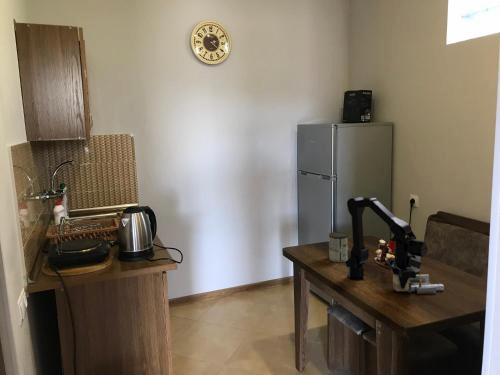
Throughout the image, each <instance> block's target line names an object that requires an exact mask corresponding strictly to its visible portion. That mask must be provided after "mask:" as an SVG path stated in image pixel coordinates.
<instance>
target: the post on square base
mask: <svg viewBox="0 0 500 375" xmlns="http://www.w3.org/2000/svg"><path fill="white" fill-rule="evenodd" d="M430 286H435V287H436V291H444V290H445V286H444V284H443V283H431V284H425V285H422V280H419V285H411V282H410V281H409V289H408V291H406V292H407V293H409V294H411V293H412V292H416V287H430Z"/></svg>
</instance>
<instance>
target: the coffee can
mask: <svg viewBox="0 0 500 375" xmlns="http://www.w3.org/2000/svg"><path fill="white" fill-rule="evenodd" d="M348 237H349V233H347V232H345V231H344V232H343V231H333V232H329V233H328V248H329V249H328V256H329V257H328V259H329V260H330V261H331V262H335V263H343V262H346V261H347V260H348V259H349V257H348V256H349V254H348V253H349V251H348V250H349V246H348V245H349V244H348V243H349V238H348Z"/></svg>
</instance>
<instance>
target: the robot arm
mask: <svg viewBox="0 0 500 375" xmlns="http://www.w3.org/2000/svg"><path fill="white" fill-rule="evenodd" d="M346 206H347V211H348V213H349V214H350V216H351V229H352V230H351V231H352V248H351V249H350V256H349V258H348V260H347V261H344V262H345V265H346V267H347V268H348V270H347V272H348V274H347V277H348V279H350V280H351V281H354V280H364V276H365V269H364V267H363V266H364V265H365V264H366V262H367V261H368V259H369V257H370V254H369V252H370V251H369V248H367V247H366V246H365V244H364V242H365V241H364V226H363V214H364V212H365V208H370V209H371V211H373V212H374V213H375V214H376V215H377V216H378V217H379V218H380V219H381V220H382V221H383V222H384V223H385V224H387V226H388V228H389V231H390V232H391V234H393V237H391V238H390V240H389V241H394V242H395V253H393V255H394V256H395V258H391V257H388V259H387V261H386V262H387V265H388V266H389V269H390V270H391V273H392V275H393V274H397V276H398V279H399V282H400V285H401V288H402V289H404V288H405V286H406V283H407V281H408V279H409V278H416V275H418V274H417V273H418V272H417V273H416V272H415V271H414V270H412V269H411V266H412V267H416V268H417V269H420V270H421V267H422V265H423V262H422V261H421V259H420V260H418V259H417V258H416V256H419V257H420V258H425V257H427V254H428V252H429V251H428V249H429V247H428V245H427V244H426V241H425V240H419V239H417V236H416V235H415V233H414V232H413V230H412V226H411V225H410V224H409V223H407V222H406V221H404V220H402V219H401V218H398V217H396V216H395V215H394V214H393V213H392V212H391V211H390V210H389V209H387V207H385V205H383V204H382V203H381V202H380V201H378V199H377V198H376V197H375V196H374V197H362V196H355V197H351V198H348V200H347V201H346ZM409 254H411V255H409ZM407 267H408V268H409V269H407Z"/></svg>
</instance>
